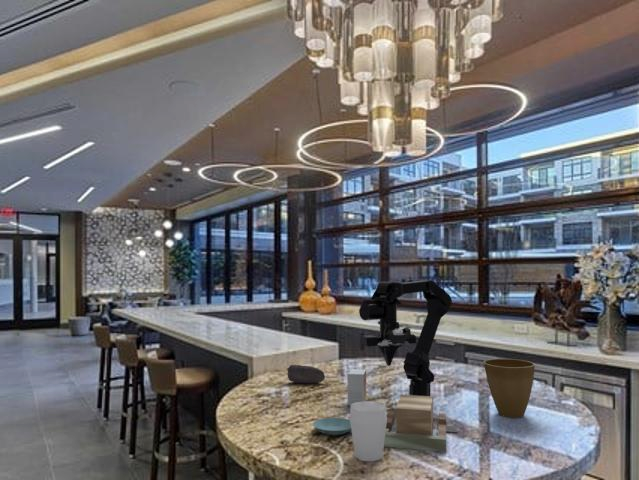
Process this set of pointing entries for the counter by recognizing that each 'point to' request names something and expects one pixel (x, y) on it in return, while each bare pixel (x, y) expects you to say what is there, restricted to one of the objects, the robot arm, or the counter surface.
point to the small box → (356, 386)
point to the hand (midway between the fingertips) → (388, 365)
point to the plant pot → (510, 385)
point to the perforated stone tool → (305, 374)
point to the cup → (368, 429)
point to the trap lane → (418, 436)
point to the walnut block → (414, 415)
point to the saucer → (333, 426)
